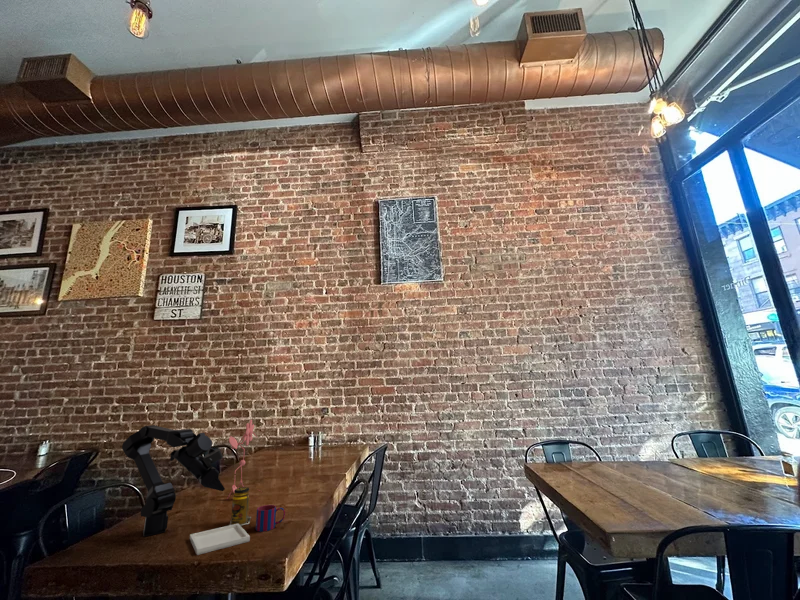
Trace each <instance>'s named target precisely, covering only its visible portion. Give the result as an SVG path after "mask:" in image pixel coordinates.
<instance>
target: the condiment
mask: <svg viewBox="0 0 800 600" xmlns="http://www.w3.org/2000/svg"><path fill="white" fill-rule="evenodd" d="M249 492H250V488H249V487H247V486H246V487H245V486H244V487H243V486H242V487H239V488H237V489H235V491H234V493H233V497H232V506H231V518H230V522H229V524H228V526H229V525H234V524H239V525H240V526H244V525H249V524H250V523H251V519H252V516H249V514H250V513H249V510H250V493H249ZM247 522H248V523H247Z"/></svg>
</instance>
